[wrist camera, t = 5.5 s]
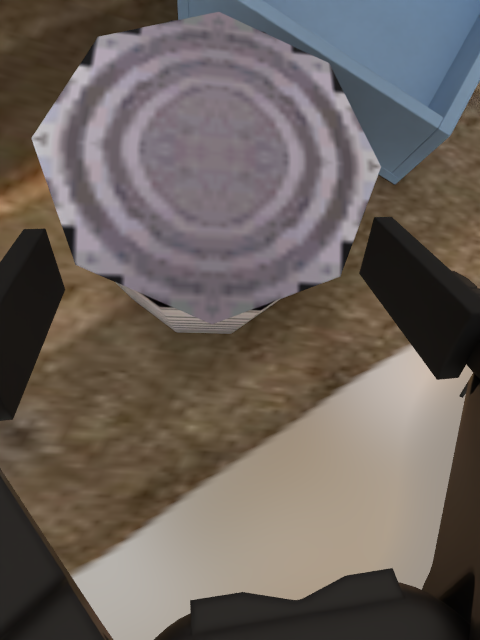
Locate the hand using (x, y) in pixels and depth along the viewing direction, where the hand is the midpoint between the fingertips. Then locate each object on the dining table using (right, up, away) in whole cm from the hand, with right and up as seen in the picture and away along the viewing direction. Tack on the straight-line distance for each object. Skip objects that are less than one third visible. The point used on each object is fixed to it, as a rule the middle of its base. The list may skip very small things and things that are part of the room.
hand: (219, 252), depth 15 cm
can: (-1, +2, +9) cm, 9 cm away
